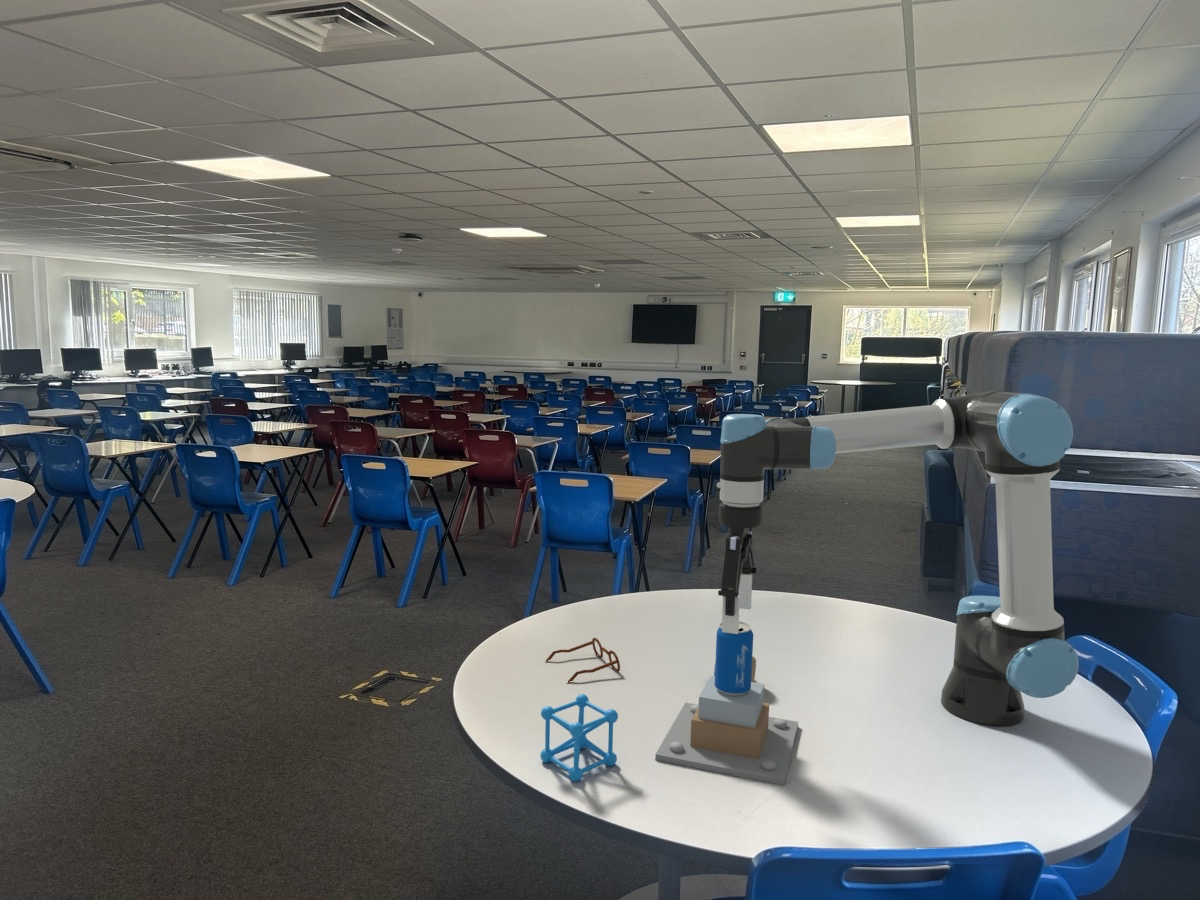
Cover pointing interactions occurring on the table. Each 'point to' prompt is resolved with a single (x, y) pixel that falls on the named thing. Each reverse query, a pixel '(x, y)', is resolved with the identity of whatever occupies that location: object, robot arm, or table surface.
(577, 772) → the molecular structure
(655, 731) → the table surface
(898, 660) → the table surface
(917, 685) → the table surface
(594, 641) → the glasses
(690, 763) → the tower base
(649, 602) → the table surface
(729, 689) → the beverage can
